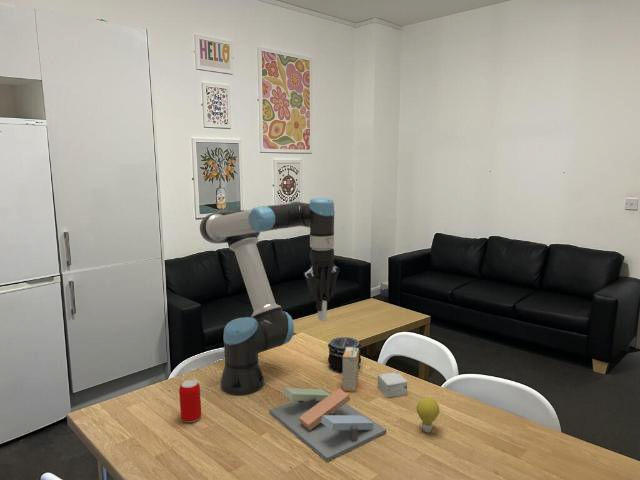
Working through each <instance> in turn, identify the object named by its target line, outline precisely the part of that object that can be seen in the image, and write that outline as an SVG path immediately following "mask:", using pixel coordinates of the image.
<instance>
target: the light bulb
mask: <svg viewBox="0 0 640 480" xmlns="http://www.w3.org/2000/svg"><path fill="white" fill-rule="evenodd" d="M416 412H417V415H418V417H419V419H420V420H421V428H422V430H423V431H424V432H426V433H430V432H432V429H433V428H434V426H433V425H434V421H436V419H437V417H439V415H440V406H439V403H438V402H437V401H436V400H435V399H433V398H432V397H422V398H421V399H419V400H418V401H417V404H416Z"/></svg>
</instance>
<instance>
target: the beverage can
mask: <svg viewBox="0 0 640 480" xmlns="http://www.w3.org/2000/svg"><path fill="white" fill-rule="evenodd" d="M178 389H179V390H178V392H179V407H180V408H179V409H180V410H179V412H180V419H181V420H182V421H184V422H185V423H194V422H197V421H198V420H200V419H201V417H202V400H201V398H202V397H201V386H200V384H199V382H198V381H197V380H194V379H187V380H185V381H183V382H181V384H180V386H179V388H178Z"/></svg>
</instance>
